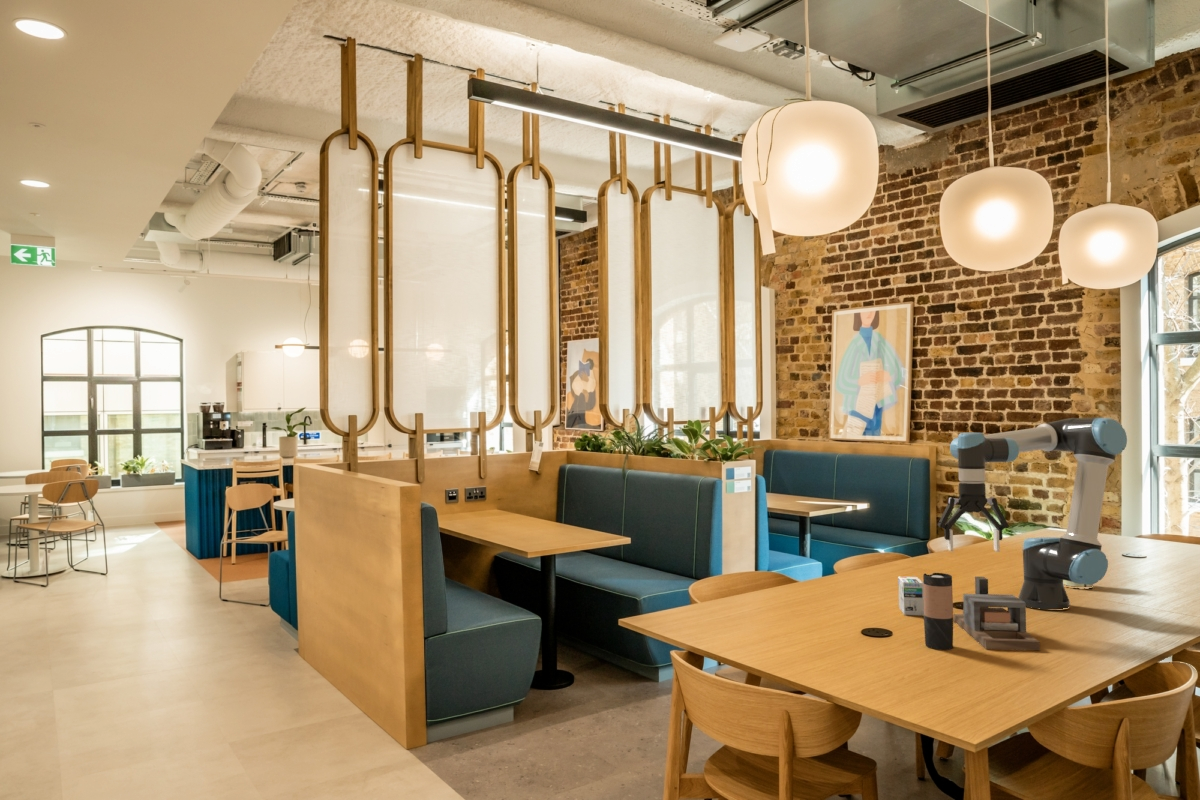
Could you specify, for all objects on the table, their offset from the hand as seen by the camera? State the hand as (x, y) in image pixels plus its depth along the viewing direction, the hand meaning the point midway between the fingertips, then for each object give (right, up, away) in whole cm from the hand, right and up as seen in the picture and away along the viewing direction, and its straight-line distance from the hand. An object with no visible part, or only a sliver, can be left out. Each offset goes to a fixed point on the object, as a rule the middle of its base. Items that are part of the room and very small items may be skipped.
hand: (973, 550), depth 244 cm
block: (0, -20, -13) cm, 24 cm away
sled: (+1, -20, -9) cm, 22 cm away
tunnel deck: (0, -23, -13) cm, 26 cm away
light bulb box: (-13, -24, +17) cm, 32 cm away
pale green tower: (+63, -24, +51) cm, 84 cm away
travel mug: (-20, -23, -23) cm, 38 cm away
